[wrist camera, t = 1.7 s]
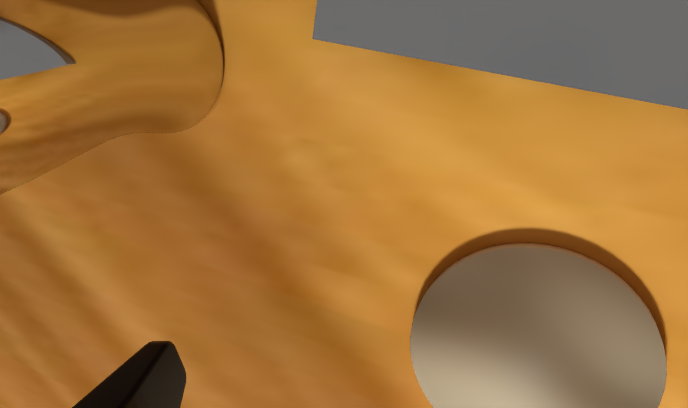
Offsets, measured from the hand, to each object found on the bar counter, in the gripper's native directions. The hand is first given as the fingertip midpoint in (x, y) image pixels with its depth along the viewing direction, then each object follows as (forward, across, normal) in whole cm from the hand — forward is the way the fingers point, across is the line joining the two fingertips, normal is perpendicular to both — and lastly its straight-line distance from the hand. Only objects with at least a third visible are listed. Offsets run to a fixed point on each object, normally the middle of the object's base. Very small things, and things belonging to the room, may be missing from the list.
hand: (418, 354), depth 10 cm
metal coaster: (+8, -4, +10) cm, 13 cm away
